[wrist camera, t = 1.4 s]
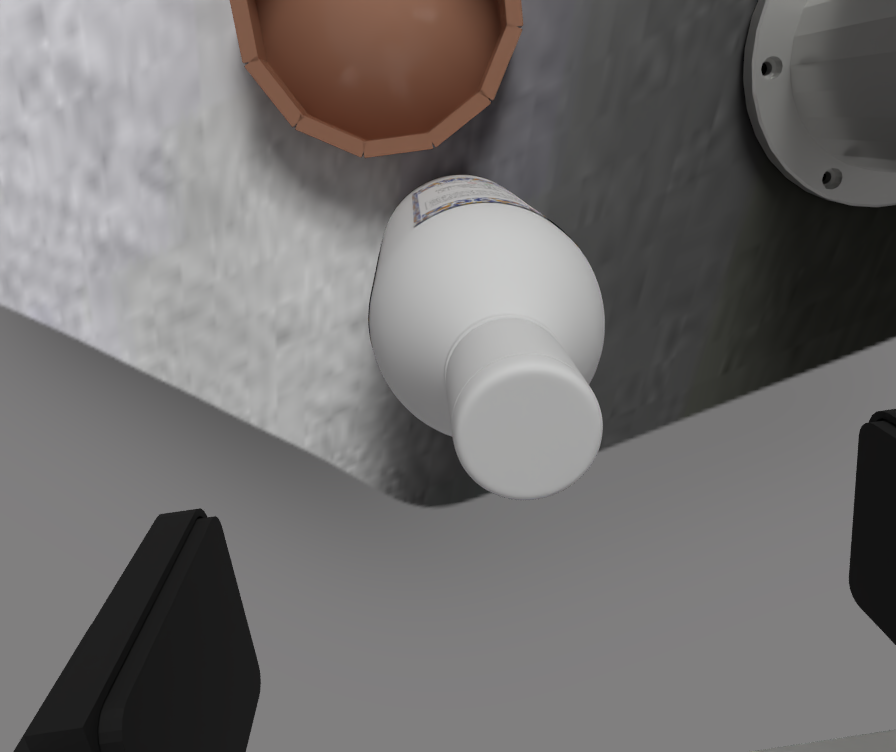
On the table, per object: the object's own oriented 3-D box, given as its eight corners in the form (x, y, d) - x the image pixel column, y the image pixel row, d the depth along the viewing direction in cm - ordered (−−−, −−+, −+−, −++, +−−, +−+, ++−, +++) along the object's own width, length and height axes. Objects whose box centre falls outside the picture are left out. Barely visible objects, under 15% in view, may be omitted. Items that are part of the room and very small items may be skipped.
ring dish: (496, -160, 28) (505, -186, 25) (522, 134, 31) (532, 135, 29) (218, -123, 27) (199, -147, 25) (275, 167, 31) (264, 171, 29)
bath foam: (471, 356, 34) (550, 645, 16) (350, 268, 33) (274, 472, 14) (567, 238, 33) (784, 402, 14) (444, 139, 31) (504, 172, 12)
